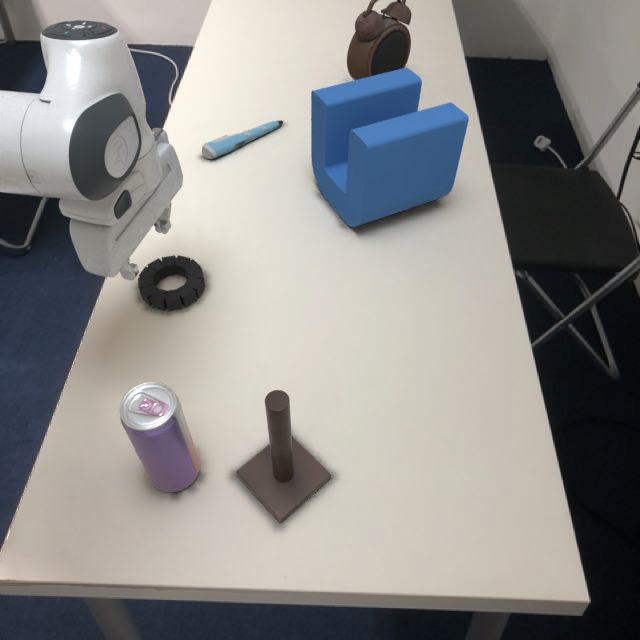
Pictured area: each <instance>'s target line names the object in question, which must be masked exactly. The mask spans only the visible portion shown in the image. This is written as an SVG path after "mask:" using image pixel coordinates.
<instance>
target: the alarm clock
mask: <svg viewBox="0 0 640 640" xmlns="http://www.w3.org/2000/svg"><path fill="white" fill-rule="evenodd" d="M378 1H379V0H370V1H369V3H368V5H367V8H366V10H363V11H362V12H361V13H359V15H358V16H357V17H356V19H355V22H354V31H355V32H354V33H353V35H352V38H351V40H350V43H349V46H348V49H347V53H346V68H347V71H348V74H349V76H350V77H351V79H352V80H353V81H354V80H358V79H362V78H366V77H370V76H375V75H379V74H383V73H387V72H391V71H395V70H399V69H403V68H406V66H407V64H408V61H409V57H410V54H411V48H412V38H411V37H412V36H411V33H410V30H409V29H408V26H410V24H411V21H412V16H413V15H412V11H411V8H410V7H409V6H408V5H407V4H406V2H407V0H396V1H392V2H390V3H388V4H387V6H386V7H385V8H382V9H381V10H380V13H379V12H378V11H376V10H373V8H374V6H375V4H376V3H377V2H378ZM406 25H407V26H406Z"/></svg>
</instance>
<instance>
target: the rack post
mask: <svg viewBox="0 0 640 640" xmlns="http://www.w3.org/2000/svg"><path fill="white" fill-rule="evenodd" d="M290 399H291V398H290V396H289V394H288V393H287V392H285V391H284V390H281V389H275V390H271V391H270V392H268V393H267V394H266V395H265V398H264V407H265V415H266V423H267V432H268V441H269V444H268V445H267V446H265V447H264V448H263V449H262V450H261V451H259V452H258V453H257V454H256V455H254V457H252V458H251V459H249V460H248V461H247V462H245V464H243V465H242V466H241V467H240V468H239V469H237V470H236V471H235V474H236V477H238V479H239V480H240V481H241V482H242V483H243V484H244V486H246V487H247V489H248V490H249V491H250V492H251V493H252V494H253V495H254V496H255V497H256V499H257V500H258V501H259V502H260V503H261V504H262V505H263V506H264V507H265V508H266V509H267V511H268V512H269V513H270V514H271V515H272V516H273V517H274V518H275V520H277V522H278V523H279V524H282V523H283V522H284V521H285V520H286V519H287V518H289V516H290V515H292V514H293V513H294V512H295V511H296V510H297V509H298V508H300V507H301V506H302V505H303V504H304V503H305V502H306V501H308V500H309V498H311V497H312V496H313V495H314V494H316V492H317V491H318V490H319V489H320V488H321V487H323V486H324V485H325V484H326V483H327V482H328V481H329V480H330V479H331V478H332V474H331V473H330V472H329V471H328V470H327V469H326V468H325V467H324V466H323V465H322V464H321V463H320V462H319V461H318V460H317V459H316V458H315V457H314V456H313V455H312V454H311V453H310V452H309V451H308V450H307V449H306V448H305V447H304V446H303V445H302V444H301V443H300V442H299V441H298V440H297V439H296V438H294V436H293V435H292V418H291V400H290Z"/></svg>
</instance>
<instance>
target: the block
mask: <svg viewBox="0 0 640 640" xmlns="http://www.w3.org/2000/svg"><path fill="white" fill-rule="evenodd" d="M422 84H423V80H422V78H421V77H420V76H419V75H418V74H416V73H415V72H414V71H413V70H411V69H410V68H408V67H405V68H403V69H399V70H395V71H391V72H387V73H383V74H379V75H375V76H370V77H366V78H362V79H358V80H354V79H353V80H351V81H347V82H342V83H338V84H335V85H330V86H327V87H322V88H318V89H314V90H312V91H311V93H310V136H311V137H310V155H311V157H310V159H311V166H312V171H313V172H312V173H313V175H314V180H315V182H316V185H317V187H318V189H319V191H320V193H321V196H322V197H323V198H324V199H325V200H326V202H327V203H328V205H329V206H330V207H331V208H332V209H333V210H334V212H335V213H336V214H337V215H338V217H339V218H340V219H341V220H342V221H343V222H344V224H345V225H346V226H347V225H348V227H350V228H355V227H356V228H357V227H358V226H361V225H364V224H367V223H371V222H374V221H376V220H379V219H382V218H385V217H388V216H391V215H394V214H397V213H400V212H403V211H406V210H409V209H412V208H415V207H418V206H421V205H425V204H427V203H430V202H433V201H436V200H439V199H441V198H445V197H447V196H448V195H449V194H450V193H451V192H452V190H453V188H454V186H455V181H456V177H457V174H458V173H457V172H458V169H459V168H458V167H459V165H460V164H459V163H460V159H461V156H462V151H463V147H464V142H465V138H466V135H467V134H466V133H467V129H468V125H469V121H470V120H469V115H468V114H467V113H466V112H464V110H462V109H460V108H459V107H458V106H457V105H456V104H455V103H453V102H451V101H450V102H447V103H442V104H438V105H435V106H432V107H429V108H425V109H421V110H419V105H420V99H421V93H422V87H423V85H422Z"/></svg>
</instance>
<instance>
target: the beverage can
mask: <svg viewBox="0 0 640 640" xmlns="http://www.w3.org/2000/svg"><path fill="white" fill-rule="evenodd" d="M119 416H120V423H121V425H122V427H123V429H124V431H125V433H126V435H127V437H128V439H129V441H130V443H131V445H132V447H133V449H134V451H135V453H136V455H137V457H138V459H139V461H140V463H141V465H142V466H143V468H144V470H145V473H146V474H147V476H148V479H149V480H150V483H151V484H152V485H153V486H154V487H155V488H156V489H157V490H159V491H161V492H164V493H177V492H181V491H183V490H185V489H187V488H188V487H189V486H191V485H192V484H193V483H194V482H195V480H196V479H197V477H198V475H199V473H200V469H201V462H200V458H199V455H198V451H197V449H196V446H195V443H194V440H193V437H192V434H191V431H190V428H189V425H188V422H187V419H186V416H185V412H184V410H183V407H182V404H181V401H180V398H179V397H178V395H177V393H175V391H174V390H173V389H172V388H171V387H170V386H169V385H168V384H165V383H163V382H159V381H147V382H142V383H140V384H138V385H136V386H134V387H132V388H131V389H130V390H129V391H127V393H126V394H125V395H124V396H123V397H122V399H121V401H120V405H119Z"/></svg>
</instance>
